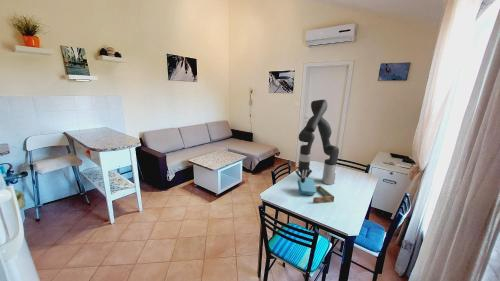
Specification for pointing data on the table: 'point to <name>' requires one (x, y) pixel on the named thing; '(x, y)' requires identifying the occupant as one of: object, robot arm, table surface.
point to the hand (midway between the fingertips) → (302, 182)
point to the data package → (307, 186)
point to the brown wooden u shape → (328, 197)
